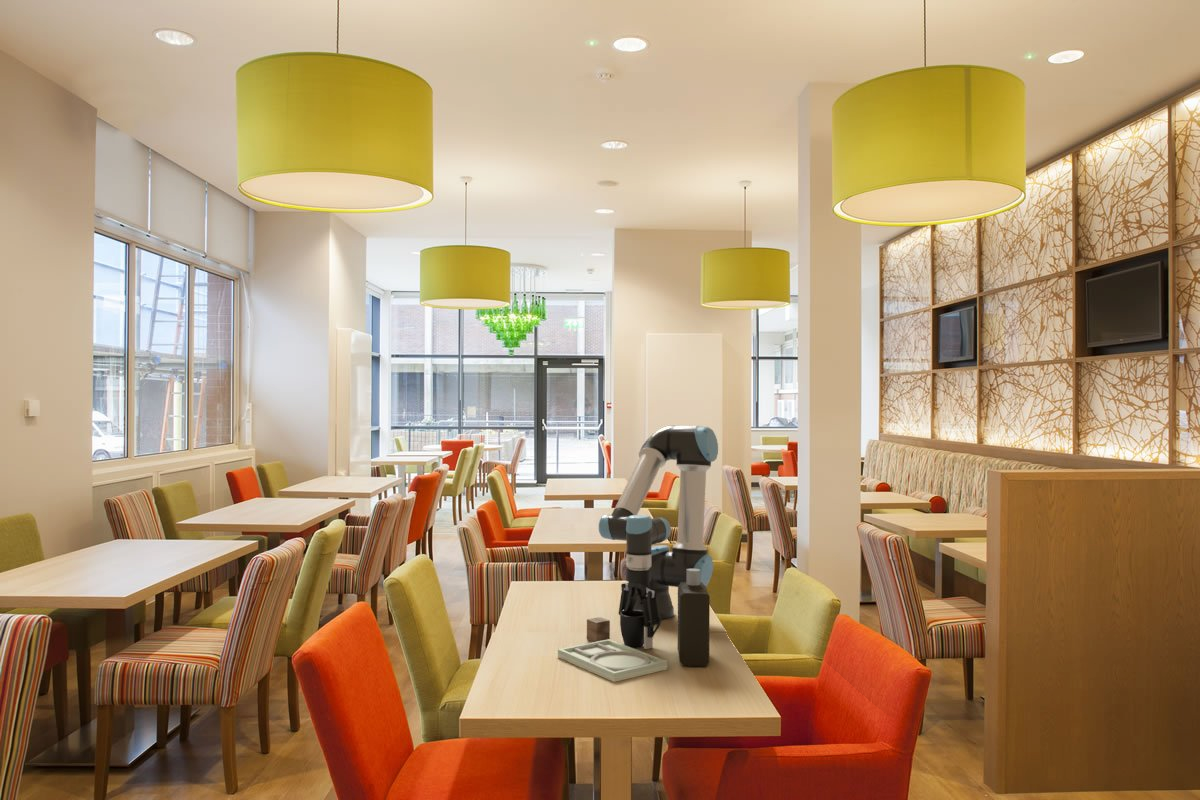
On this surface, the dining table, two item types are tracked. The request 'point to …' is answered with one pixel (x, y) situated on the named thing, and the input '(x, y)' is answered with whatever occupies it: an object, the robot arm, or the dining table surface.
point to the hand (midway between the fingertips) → (638, 644)
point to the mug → (633, 628)
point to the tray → (612, 660)
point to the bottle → (693, 621)
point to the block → (598, 629)
